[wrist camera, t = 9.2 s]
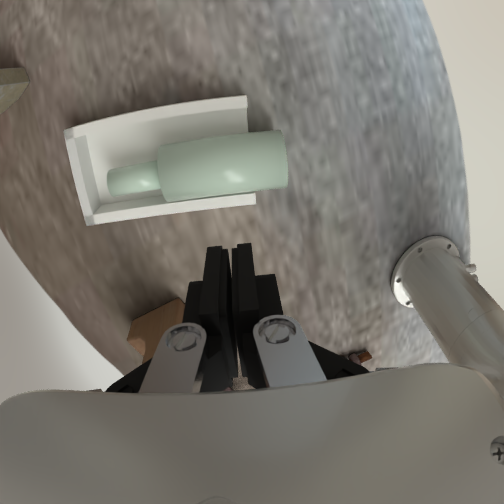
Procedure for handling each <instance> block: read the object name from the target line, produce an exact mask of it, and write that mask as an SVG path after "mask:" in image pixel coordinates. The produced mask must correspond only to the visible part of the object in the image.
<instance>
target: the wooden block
mask: <svg viewBox="0 0 504 504" xmlns="http://www.w3.org/2000/svg"><path fill="white" fill-rule="evenodd" d="M184 308H185V304H184V303H183V302H182V301H181V300H180V299H179V298H177V299H175V300H173V301H171V302H169V303H167V304H165V305H163V306H161V307H159V308H157V309H155V310H153V311H151V312H149V313H147V314H145V315H143V316H141V317H139V318H137V319H135V320H133V322H132V324H131V328H130V331H129V334H128V337H127V341H128V342H129V343H130V344H131V345H132V346H133V347H134V348H135V349H136V350H137V351H138V352H139V353H140V354H141V355H142V356H143V362H142V364H143V363H145V362H146V361H148V360H149V359H151V358H152V357H153V356H154V354H155V351H156V349H157V346H158V344H159V342H160V339H161V337H162V335H163V334H164V332H165V331H167V330H168V329H169V328H170V327H172V326H174V325H177V324H180V323H182V320H183V314H184Z"/></svg>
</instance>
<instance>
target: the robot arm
mask: <svg viewBox="0 0 504 504" xmlns="http://www.w3.org/2000/svg"><path fill="white" fill-rule="evenodd" d="M475 271H476V265H475V264H468V265H465V264H464V263H463V262H462V261H461V260H460V256H459V251H458V249H457V247H456V246H455V245H454V244H453V242H451V241H450V240H449V239H448V238H445V237H443V236H430V237H427V238H424V239H422V240H420V241H418V242H417V243H415V244H414V245H412V246H411V247H410V248H409V249H408V250H407V251H406V252H405V253H404V254H403V255H402V257H401V258H400V259H399V261H398V263H397V265H396V266H395V269H394V271H393V275H392V279H391V288H392V292H393V294H394V297H395V298H396V299H397V301H398V302H399V303H400V304H401V305H403V306H405V307H410V308H415V310H416V311H417V313H418V314H419V316H420V317H421V319H422V320H423V322H424V323H425V325H426V326H427V328H428V329H429V331H430V332H431V334H432V335H433V337H434V339H435V340H436V342H437V343H438V345H439V346H440V348H441V350H442V351H443V353H444V354H445V356H446V358H447V359H448V361H449V363H425V364H417V365H409V366H404V367H397V368H376V370H375V371H368V370H367V369H366V368H364V367H363V366H361V365H359V364H357V363H355V362H353V361H350V360H348V359H346V358H344V357H342V356H340V355H337V354H335V353H333V352H331V351H329V350H327V349H325V348H322V347H320V346H318V345H316V344H314V343H312V342H310V341H308V340H307V338H306V336H305V334H304V332H303V330H302V328H301V326H300V324H299V323H298V322H297V321H296V320H295V319H293V318H292V317H289V316H286V315H283V310H282V306H281V301H280V296H279V291H278V286H277V281H276V277H275V274H268V275H258V276H255V272H254V263H253V254H252V246H251V243H244V244H237V248H232V276H231V269H230V262H229V254H228V249H222V246H214V247H207V253H206V261H205V268H204V275H203V281H194V282H190V283H189V286H188V292H187V297H186V303H185V308H184V314H183V320H182V323H180V324H177V325H174V326H172V327H170V328H169V329H168V330H167V331H165V332H164V334H163V335H162V337H161V339H160V342H159V344H158V346H157V349H156V351H155V354H154V356H153V357H152V358H151V359H149V360H148V361H146V362H145V363H143V364H142V365H140V366H139V367H137V368H136V369H134V370H133V371H131V372H130V373H128V374H127V375H125V376H124V377H122V378H121V379H119V380H118V381H116V382H115V383H113V384H112V385H111V386H110V387H109V388H108V389H107V390H106V391H105V392H103V391H102V390H101V389H96V390H89V391H74V390H35V391H28V392H24V393H21V394H17V395H15V396H12V397H10V398H8V399H6V400H5V401H4V402H2V403H1V405H0V504H504V311H503V309H502V308H501V307H500V306H499V305H498V304H497V303H496V301H495V300H494V299H493V298H492V297H491V296H490V295H489V294H488V293H487V291H486V290H485V289H484V288H483V287H482V286H481V285H480V284H479V283H478V277H477V275H475V274H473V275H471V274H470V273H472V272H475ZM237 346H238V352H239V358H240V364H241V370H242V376H243V377H248V383H249V384H250V385H251V386H253V387H254V388H256V389H249V390H236V391H223V390H225V389H226V388H227V387H233V381H232V378H236V377H238V359H237Z"/></svg>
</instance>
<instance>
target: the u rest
mask: <svg viewBox="0 0 504 504" xmlns="http://www.w3.org/2000/svg"><path fill="white" fill-rule="evenodd" d="M246 108H248V104H247V96H246V95H237V96H227V97H218V98H210V99H202V100H195V101H188V102H181V103H175V104H169V105H163V106H158V107H152V108H147V109H142V110H137V111H133V112H128V113H123V114H119V115H115V116H110V117H106V118H102V119H98V120H95V121H91V122H87V123H83V124H80V125H76V126H74V127H71V128H68V129H65V130H64V136H65V141H66V146H67V151H68V155H69V160H70V164H71V169H72V173H73V177H74V181H75V185H76V189H77V193H78V197H79V201H80V204H81V208H82V211H83V215H84V218H85V222H86V225H87V226H89V225H95V224H102V223H108V222H115V221H122V220H129V219H136V218H143V217H150V216H157V215H165V214H173V213H181V212H189V211H197V210H205V209H214V208H223V207H232V206H242V205H252V204H256V198H255V191H252V192H243V193H235V194H226V195H218V196H210V197H203V198H195V199H188V200H181V201H174V202H167V201H166V200H165V198H164V196H163V193H162V190H161V189H156V190H150V191H144V192H138V193H133V194H127V195H122V196H116V197H113V196H111V194H110V193H109V190H108V187H107V173H108V171H109V170H110V169H114V168H119V167H124V166H129V165H134V164H139V163H145V162H150V161H156V160H157V156H158V149H159V146H160V145H164V144H169V143H175V142H181V141H188V140H194V139H201V138H208V137H216V136H224V135H232V134H241V133H249V132H248V121H247V110H246Z"/></svg>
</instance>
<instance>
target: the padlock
mask: <svg viewBox="0 0 504 504" xmlns="http://www.w3.org/2000/svg"><path fill="white" fill-rule="evenodd" d="M29 83H30V81H29V78H28V76H27V73H26V71H25V68H6V69H0V114H1V113H3V112H4V111H5V110H6V109H8V108H9V107H10V106H11V105H12V104H13V103H14V102H15V101H16V100H18V99H19V98H20V96H21V95H22V93H23V92H24V90H25V89H26V87H27V86H28V84H29Z"/></svg>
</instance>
